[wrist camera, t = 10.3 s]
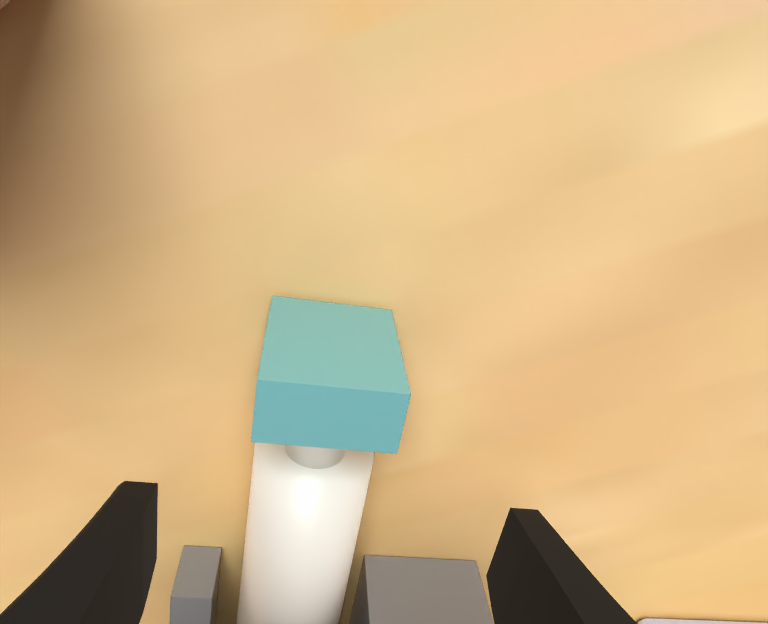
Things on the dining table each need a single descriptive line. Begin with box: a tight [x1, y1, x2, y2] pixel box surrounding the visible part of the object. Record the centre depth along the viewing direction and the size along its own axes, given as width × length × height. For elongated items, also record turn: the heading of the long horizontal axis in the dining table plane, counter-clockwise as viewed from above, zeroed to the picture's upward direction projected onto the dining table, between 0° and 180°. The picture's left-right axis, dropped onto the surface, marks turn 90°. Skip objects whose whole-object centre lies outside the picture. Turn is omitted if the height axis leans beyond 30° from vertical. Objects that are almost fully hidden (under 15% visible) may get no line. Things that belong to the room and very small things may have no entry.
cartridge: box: [237, 296, 411, 624], centre depth 21 cm, size 4×16×5 cm, turn 170°
